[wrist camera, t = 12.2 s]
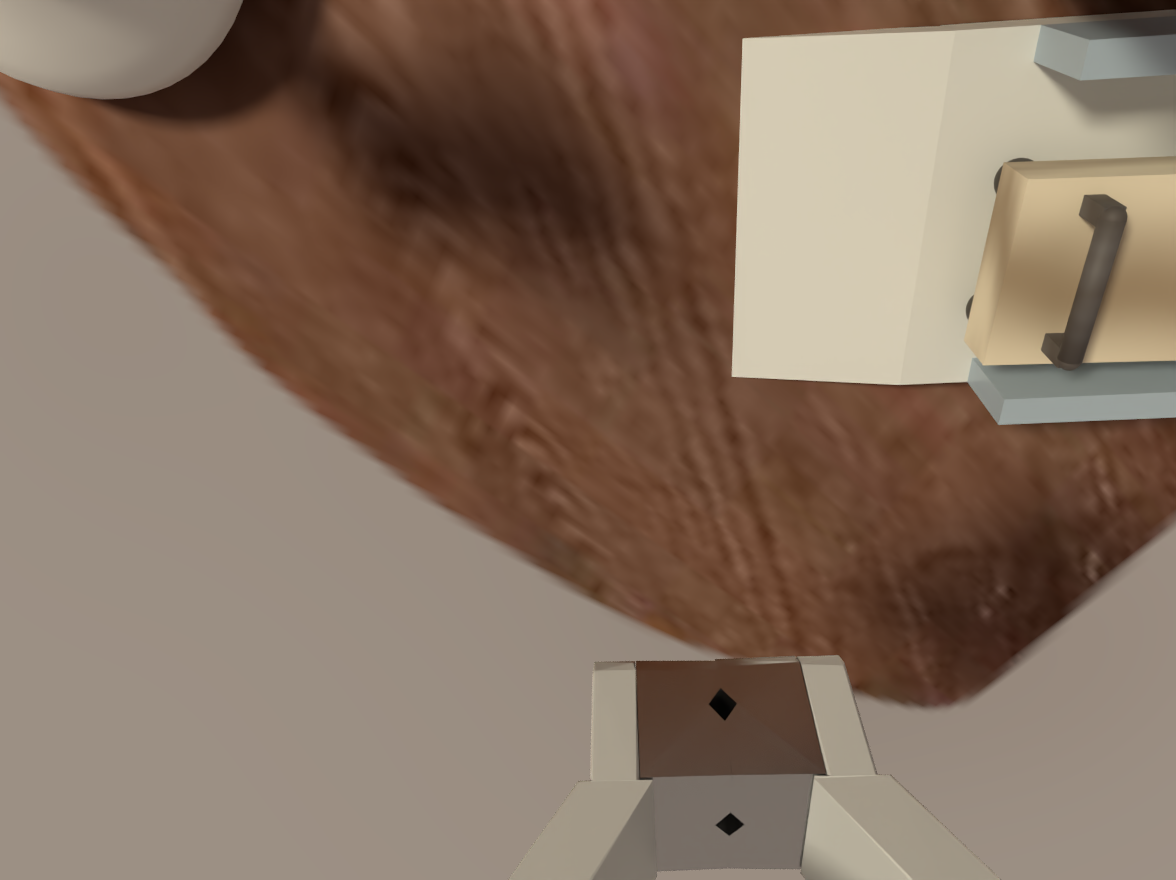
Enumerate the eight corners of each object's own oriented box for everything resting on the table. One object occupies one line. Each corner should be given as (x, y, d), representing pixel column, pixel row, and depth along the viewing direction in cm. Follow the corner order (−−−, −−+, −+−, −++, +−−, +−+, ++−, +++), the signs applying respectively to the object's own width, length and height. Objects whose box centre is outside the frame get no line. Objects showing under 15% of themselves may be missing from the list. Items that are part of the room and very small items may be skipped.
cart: (986, 150, 27) (1052, 196, 23) (1279, 139, 26) (1398, 184, 22) (949, 322, 30) (1001, 389, 26) (1210, 315, 30) (1303, 381, 26)
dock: (739, 34, 27) (763, 61, 23) (1360, -8, 26) (1510, 12, 22) (728, 364, 34) (746, 435, 29) (1225, 341, 32) (1319, 411, 28)
